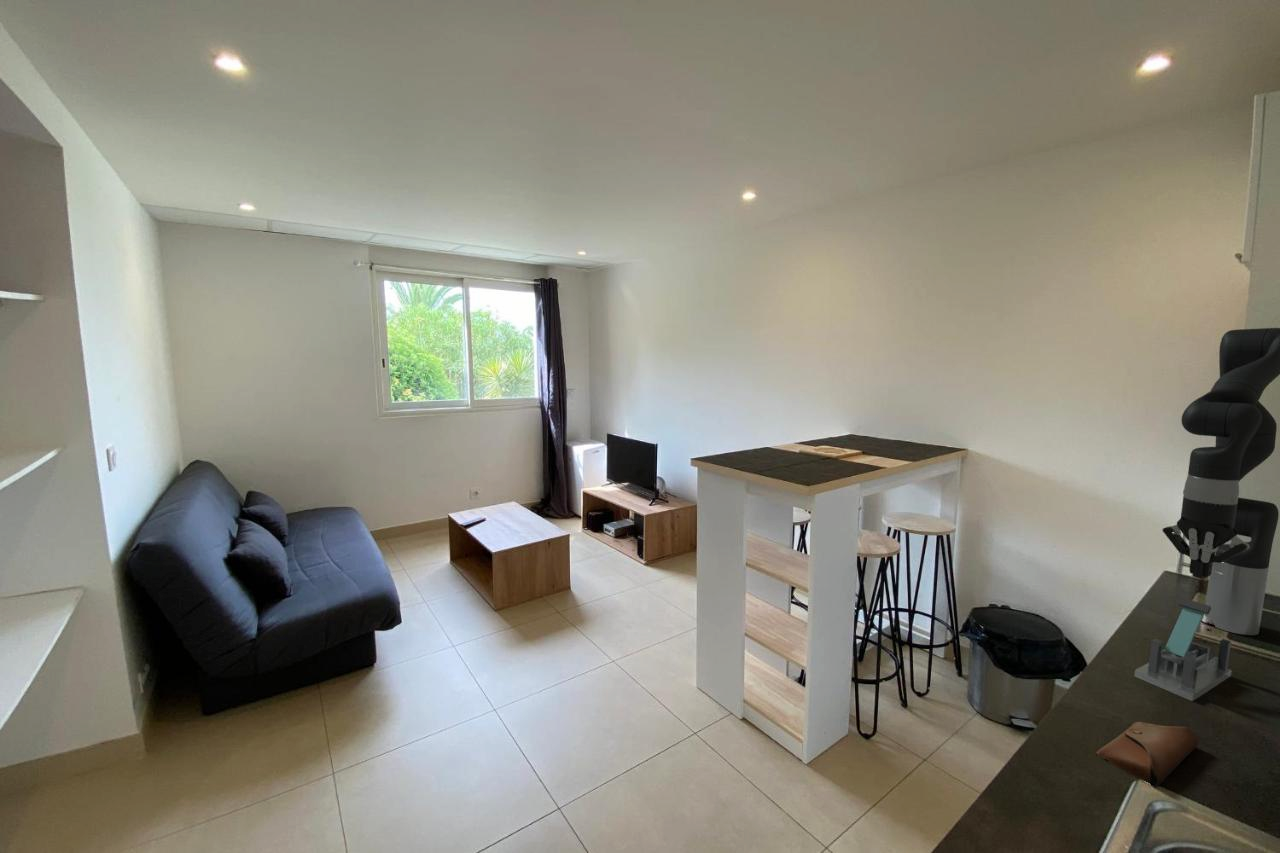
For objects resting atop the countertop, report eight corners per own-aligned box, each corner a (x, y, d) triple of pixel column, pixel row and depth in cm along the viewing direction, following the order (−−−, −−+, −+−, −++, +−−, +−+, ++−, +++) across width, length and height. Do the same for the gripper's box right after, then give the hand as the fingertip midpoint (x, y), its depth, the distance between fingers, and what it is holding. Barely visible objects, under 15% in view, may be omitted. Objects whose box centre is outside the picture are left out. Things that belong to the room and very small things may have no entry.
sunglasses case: (1134, 718, 97) (1162, 701, 94) (1176, 756, 93) (1207, 740, 89) (1092, 755, 89) (1121, 738, 85) (1135, 798, 84) (1168, 783, 80)
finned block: (1173, 654, 117) (1177, 620, 116) (1230, 676, 109) (1235, 639, 108) (1134, 676, 110) (1138, 639, 109) (1192, 701, 102) (1197, 662, 101)
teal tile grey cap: (1183, 600, 111) (1181, 597, 110) (1212, 609, 107) (1210, 606, 106) (1157, 656, 108) (1155, 653, 108) (1186, 667, 104) (1184, 664, 104)
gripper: (1265, 503, 101) (1253, 586, 103) (1174, 488, 113) (1165, 563, 115) (1250, 508, 98) (1238, 593, 100) (1158, 492, 110) (1149, 569, 112)
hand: (1199, 577), depth 107 cm, fingers closed
